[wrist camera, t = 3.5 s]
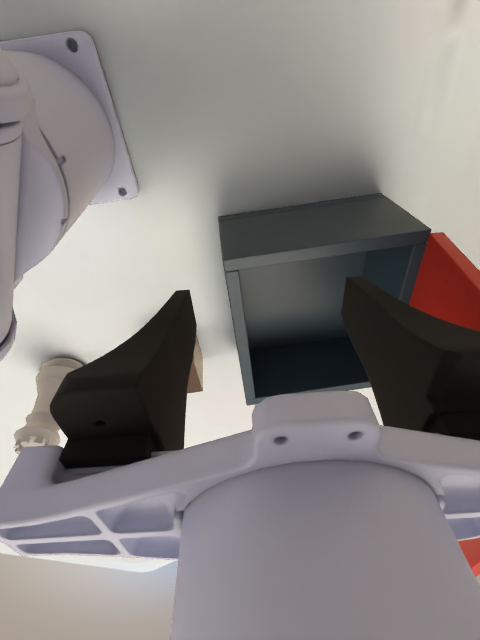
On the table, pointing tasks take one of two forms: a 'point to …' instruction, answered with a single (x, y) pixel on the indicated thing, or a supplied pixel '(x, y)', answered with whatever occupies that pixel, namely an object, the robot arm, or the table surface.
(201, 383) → the block
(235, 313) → the dark grey open box
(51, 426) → the rook chess piece
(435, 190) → the table surface
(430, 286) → the lid
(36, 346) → the table surface
